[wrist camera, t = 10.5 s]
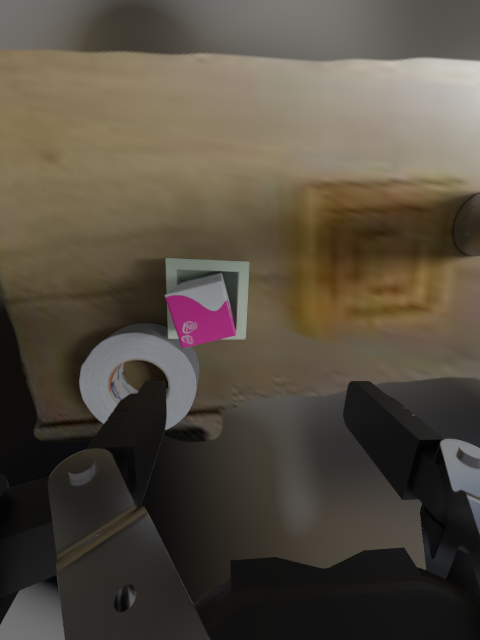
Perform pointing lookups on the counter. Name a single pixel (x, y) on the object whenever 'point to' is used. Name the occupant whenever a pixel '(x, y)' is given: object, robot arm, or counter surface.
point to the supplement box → (201, 310)
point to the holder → (233, 278)
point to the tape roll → (148, 345)
